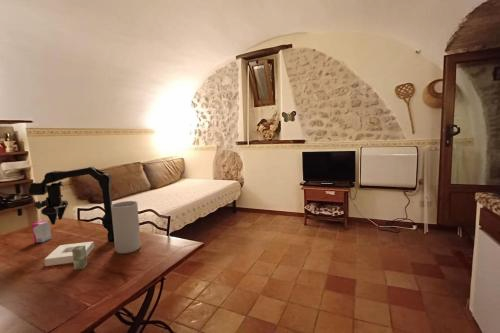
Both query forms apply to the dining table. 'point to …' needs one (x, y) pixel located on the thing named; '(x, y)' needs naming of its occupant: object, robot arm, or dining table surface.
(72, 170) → the robot arm
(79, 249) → the peg
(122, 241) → the cylinder vase
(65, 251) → the socket block
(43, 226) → the supplement box
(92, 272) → the dining table surface
